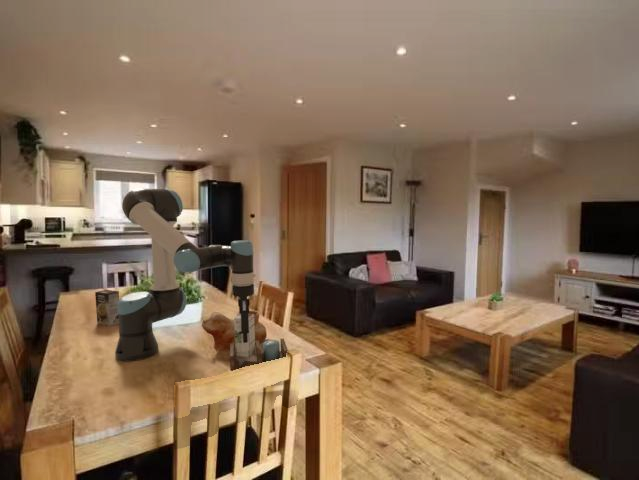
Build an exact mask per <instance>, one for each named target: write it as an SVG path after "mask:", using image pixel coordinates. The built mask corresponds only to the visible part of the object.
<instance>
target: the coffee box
mask: <svg viewBox="0 0 639 480" xmlns="http://www.w3.org/2000/svg"><path fill="white" fill-rule="evenodd" d="M94 295H95V297H94V298H95V308H96V323H97V324H98V325H103V326H109V327H110V326H113V325H117V324H119V322H118V313H117V309H118V301H119V300H120V291H119V290H110V289H104V290H99V291H95V292H94Z"/></svg>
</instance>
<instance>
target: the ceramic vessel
mask: <svg viewBox="0 0 639 480" xmlns="http://www.w3.org/2000/svg"><path fill="white" fill-rule="evenodd" d="M239 314H240V313H239V311H238V312H237V314H236V316H237V315H239ZM248 314H254V329H255V346H256V341H259V344H261V343H263V342H265V341H266V338H267V335H268V334H267V327H265V325H264V324H263V323H262V322H260V321H259V319H260V312H259V311H257V310H249V313H248ZM201 327H202V328H203V330H204V331H205V332H206V333H207V334H209V335H211V336H212V338H213V341H214V344H213V348H214V350H215V351H216V352H218V350H219V351H225V350H230V343H234V350H235V329H234V319H232V318H229V317H227V316H226V315H224V314H223V313H221V312H219V311H213V312H212V313H211V314H210V315H209V317H208V318H206V319H203V320H202V324H201Z"/></svg>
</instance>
